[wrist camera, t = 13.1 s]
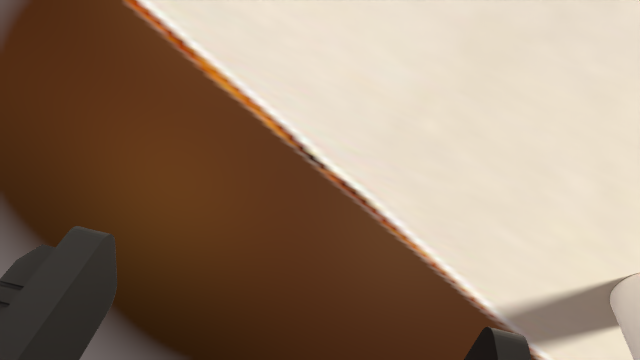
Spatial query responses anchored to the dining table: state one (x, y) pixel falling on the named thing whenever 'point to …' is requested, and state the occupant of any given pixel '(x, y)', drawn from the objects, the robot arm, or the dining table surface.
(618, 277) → the dining table surface
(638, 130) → the dining table surface
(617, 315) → the cylindrical container
